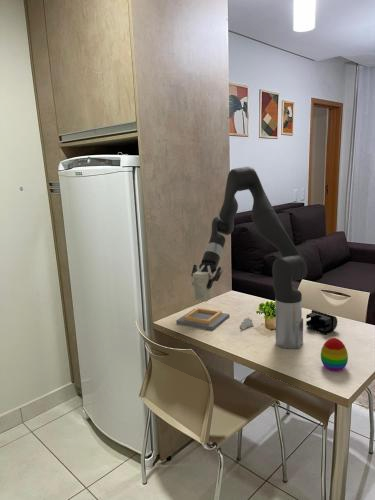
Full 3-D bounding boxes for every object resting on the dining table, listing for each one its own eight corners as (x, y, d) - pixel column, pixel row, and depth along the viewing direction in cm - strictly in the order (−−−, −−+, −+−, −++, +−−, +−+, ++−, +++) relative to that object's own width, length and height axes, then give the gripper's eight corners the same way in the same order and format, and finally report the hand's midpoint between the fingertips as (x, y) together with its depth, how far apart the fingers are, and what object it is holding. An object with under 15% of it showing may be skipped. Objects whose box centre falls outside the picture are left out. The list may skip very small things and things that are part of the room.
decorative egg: (326, 358, 128) (326, 331, 126) (351, 365, 123) (352, 337, 121) (316, 368, 122) (316, 339, 120) (342, 376, 117) (343, 346, 115)
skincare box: (211, 299, 165) (210, 272, 163) (206, 302, 162) (205, 274, 159) (198, 297, 169) (197, 270, 166) (193, 300, 165) (192, 273, 163)
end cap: (337, 330, 150) (337, 314, 148) (326, 335, 146) (327, 319, 144) (315, 323, 158) (316, 308, 156) (305, 328, 154) (305, 312, 152)
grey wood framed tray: (229, 317, 169) (229, 310, 169) (213, 330, 156) (212, 323, 155) (194, 311, 178) (194, 305, 178) (176, 323, 165) (176, 317, 164)
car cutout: (247, 323, 162) (247, 313, 161) (258, 328, 157) (258, 318, 156) (219, 333, 154) (219, 322, 153) (230, 338, 149) (229, 327, 148)
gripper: (195, 249, 172) (183, 281, 164) (224, 251, 165) (212, 285, 157) (201, 258, 177) (190, 289, 170) (229, 260, 170) (218, 293, 163)
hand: (201, 287), depth 164 cm, fingers closed on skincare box, 6 cm apart
